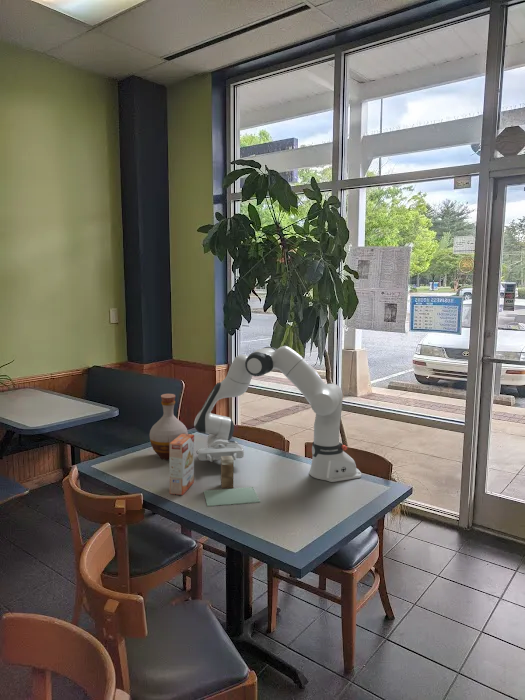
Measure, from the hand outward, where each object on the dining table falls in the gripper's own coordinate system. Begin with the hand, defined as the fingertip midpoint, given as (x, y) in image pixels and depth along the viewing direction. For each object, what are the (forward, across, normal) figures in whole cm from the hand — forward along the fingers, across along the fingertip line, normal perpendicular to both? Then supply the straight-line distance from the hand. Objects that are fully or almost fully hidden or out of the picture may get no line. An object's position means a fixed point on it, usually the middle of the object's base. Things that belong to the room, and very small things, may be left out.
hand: (222, 459), depth 226 cm
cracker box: (+12, -18, +7) cm, 23 cm away
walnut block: (+13, 0, +7) cm, 15 cm away
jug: (-28, -22, +7) cm, 37 cm away
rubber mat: (+24, 0, +7) cm, 25 cm away
